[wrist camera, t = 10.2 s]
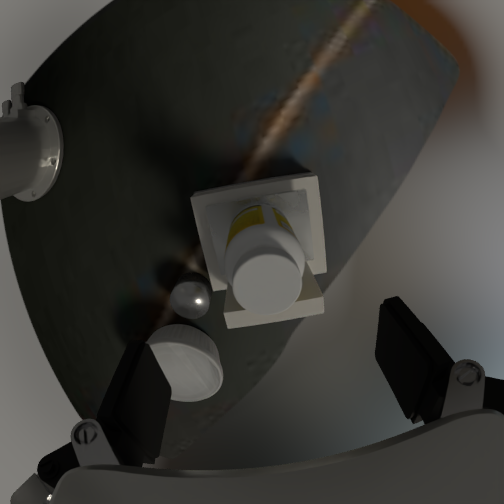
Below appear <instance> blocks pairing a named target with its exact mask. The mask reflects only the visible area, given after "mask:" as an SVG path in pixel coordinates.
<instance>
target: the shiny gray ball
mask: <svg viewBox="0 0 504 504" xmlns="http://www.w3.org/2000/svg"><path fill="white" fill-rule="evenodd" d="M211 295H212V287H211V284H210V282H209V281H208V280H207V278H205V277H204V276H203V275H201V274H198V273H186V274H184V275H182V276H181V277H180V278H179V279H178V280H177V282H176V284H175V286H174V289H173V291H172V293H171V295H170V303H171V306H172V308H173V310H174V311H175V312H176V313H177V314H179V315H180V316H182V317H185V318H189V319H195V318H199V317H201V316H203V315H204V314H205V313H206V312H207V310H208V308H209V304H210V299H211Z"/></svg>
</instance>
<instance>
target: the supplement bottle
mask: <svg viewBox="0 0 504 504" xmlns="http://www.w3.org/2000/svg"><path fill="white" fill-rule="evenodd" d="M304 267H305V257H304V253H303V250H302V247H301V244H300V243H299V241H298V239H297V237H296V235H295V233H294V231H293V229H292V227H291V225H290V223H289V221H288V220H287V218H286V217H285V216H284V214H283V213H282V212H281V211H279V210H278V209H276V208H274V207H272V206H269V205H265V204H256V205H251V206H248V207H246V208H244V209H243V210H241V211H240V212H239V213H238V214H237V215H236V216H235V218H234V219H233V221H232V223H231V226H230V229H229V234H228V239H227V244H226V250H225V256H224V271H225V275H226V278H227V280H228V282H229V283H230V285H231V286H232V290H233V294H234V296H235V298H236V300H237V302H238V303H239V304H240V305H241V306H242V307H243V308H245V309H246V310H248V311H250V312H252V313H254V314H258V315H273V314H277V313H280V312H283V311H285V310H286V309H288V308H289V307H291V306H292V305H293V304H294V303H295V301H296V300H297V298H298V297H299V295H300V292H301V288H302V275H303V272H304Z"/></svg>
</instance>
